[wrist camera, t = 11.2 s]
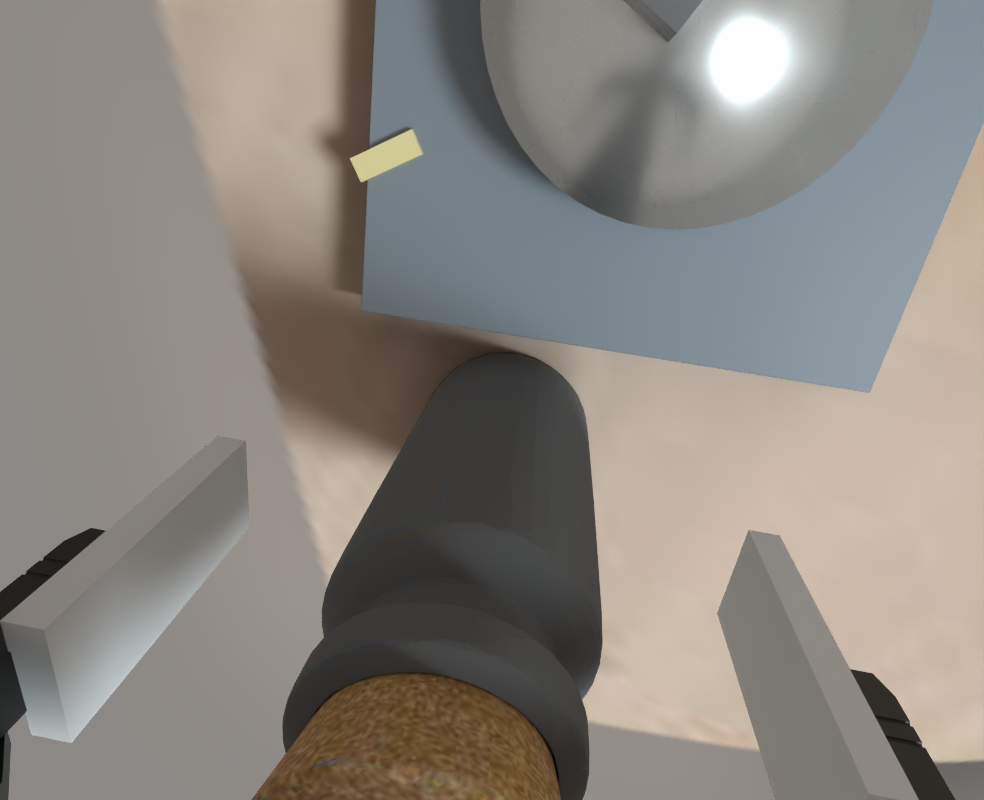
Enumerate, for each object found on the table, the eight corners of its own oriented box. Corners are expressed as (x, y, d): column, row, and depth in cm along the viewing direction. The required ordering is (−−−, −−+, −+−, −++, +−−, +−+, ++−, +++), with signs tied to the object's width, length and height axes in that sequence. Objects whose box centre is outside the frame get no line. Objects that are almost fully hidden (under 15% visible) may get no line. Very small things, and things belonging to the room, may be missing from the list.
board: (397, -490, 13) (374, -573, 12) (1165, -418, 13) (1251, -497, 11) (361, 297, 21) (344, 309, 19) (848, 375, 20) (872, 395, 18)
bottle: (467, 515, 23) (324, 1028, 10) (400, 384, 22) (108, 782, 8) (610, 469, 22) (685, 997, 8) (551, 325, 20) (518, 685, 6)
